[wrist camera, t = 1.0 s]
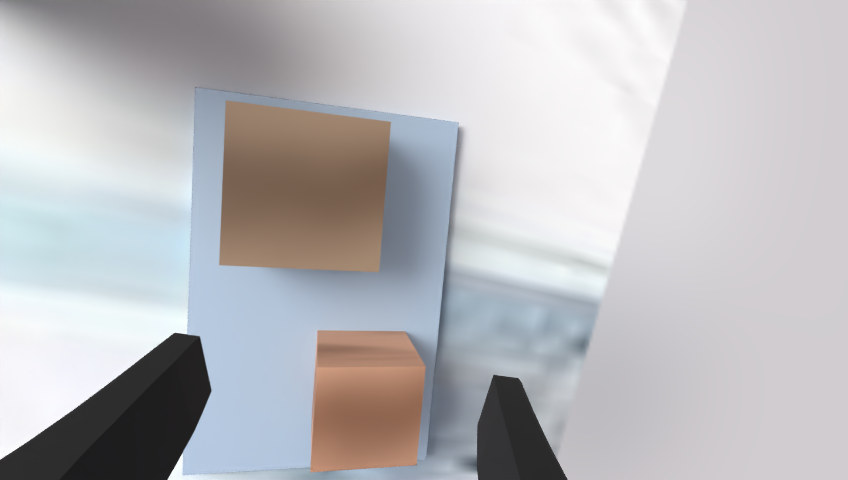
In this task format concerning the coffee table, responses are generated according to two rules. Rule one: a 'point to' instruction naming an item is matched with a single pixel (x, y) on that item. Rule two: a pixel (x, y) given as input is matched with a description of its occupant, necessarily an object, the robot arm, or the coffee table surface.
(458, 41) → the coffee table surface
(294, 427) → the board
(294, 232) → the base brick
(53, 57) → the coffee table surface
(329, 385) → the terracotta block
